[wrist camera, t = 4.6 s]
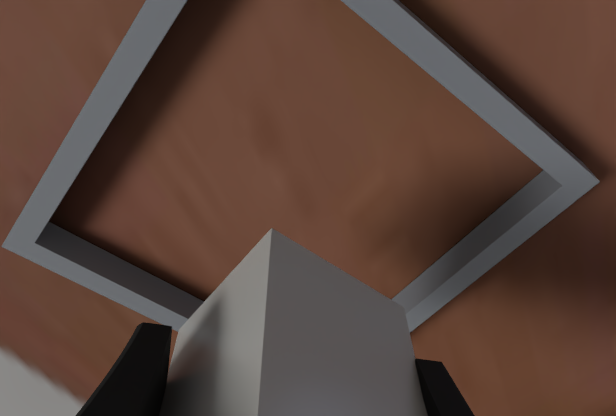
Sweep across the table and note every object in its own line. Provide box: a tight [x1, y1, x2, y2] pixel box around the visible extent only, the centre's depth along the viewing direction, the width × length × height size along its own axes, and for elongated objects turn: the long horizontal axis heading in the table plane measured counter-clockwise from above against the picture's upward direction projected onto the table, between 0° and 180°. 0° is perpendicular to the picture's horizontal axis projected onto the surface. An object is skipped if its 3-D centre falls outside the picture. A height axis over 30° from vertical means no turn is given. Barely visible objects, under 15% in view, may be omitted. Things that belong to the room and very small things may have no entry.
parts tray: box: [1, 0, 600, 333], centre depth 18 cm, size 14×14×1 cm
